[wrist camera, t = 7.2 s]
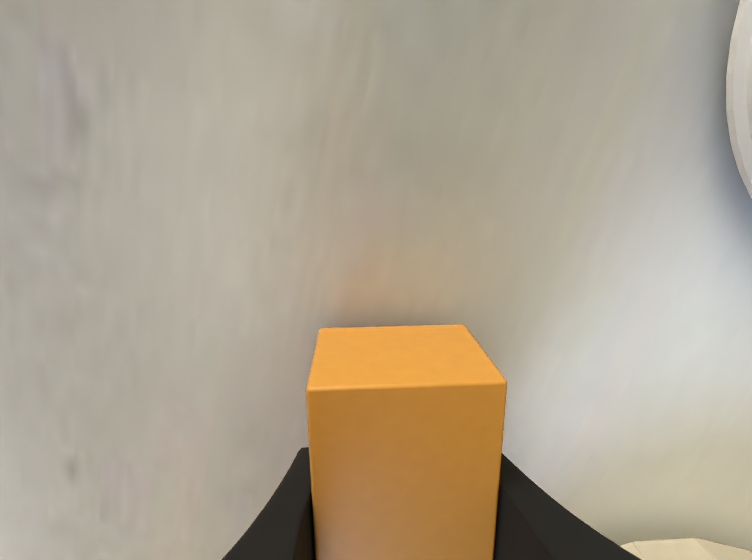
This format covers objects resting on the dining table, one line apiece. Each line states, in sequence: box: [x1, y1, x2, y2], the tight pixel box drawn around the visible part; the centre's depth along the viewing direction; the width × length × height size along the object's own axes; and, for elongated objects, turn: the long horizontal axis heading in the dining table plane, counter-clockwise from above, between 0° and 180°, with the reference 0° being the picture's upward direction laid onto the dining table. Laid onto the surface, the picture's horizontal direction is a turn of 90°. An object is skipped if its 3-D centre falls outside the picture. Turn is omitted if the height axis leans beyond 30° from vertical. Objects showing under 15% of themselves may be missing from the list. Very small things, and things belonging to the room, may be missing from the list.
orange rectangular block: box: [306, 324, 507, 560], centre depth 11 cm, size 8×4×4 cm, turn 1°
